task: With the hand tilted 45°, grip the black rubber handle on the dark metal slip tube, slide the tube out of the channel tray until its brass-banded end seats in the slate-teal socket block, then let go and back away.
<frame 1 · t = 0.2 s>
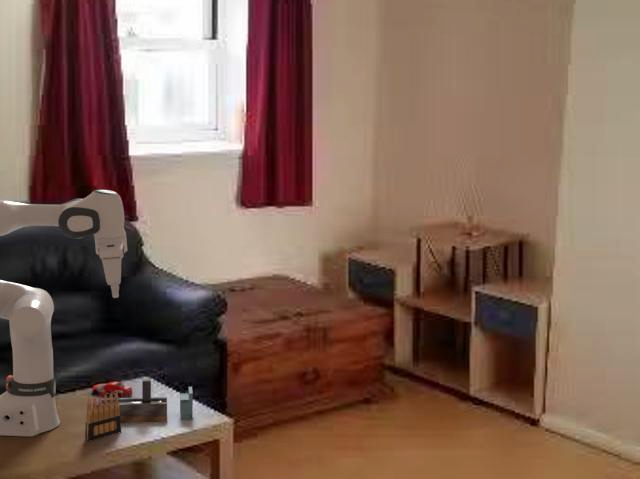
hand: (116, 293, 281), 39 cm above the table, tool pointing down, fingers open, 8 cm apart
slip tube: (134, 395, 292), point 7 cm above the table, slide at 0.0 cm
channel tray: (129, 417, 293), on the table
race car: (111, 395, 312), on the table
socket block: (186, 415, 295), on the table
ammunition clip: (103, 436, 278), on the table
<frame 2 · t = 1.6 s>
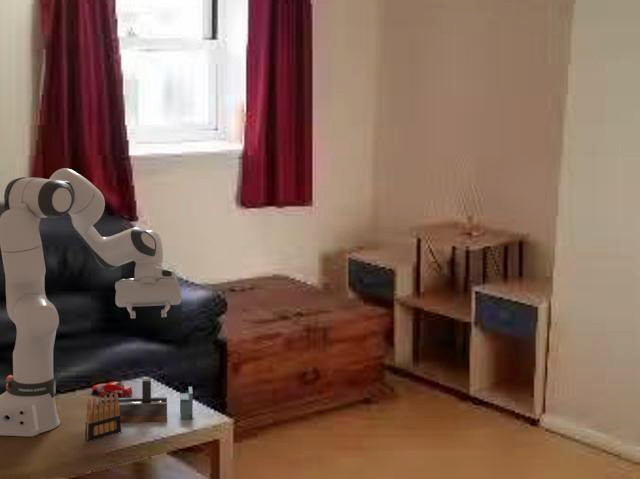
hand: (148, 316, 302), 27 cm above the table, tool tilted 45°, fingers open, 8 cm apart
nothing on the table moved.
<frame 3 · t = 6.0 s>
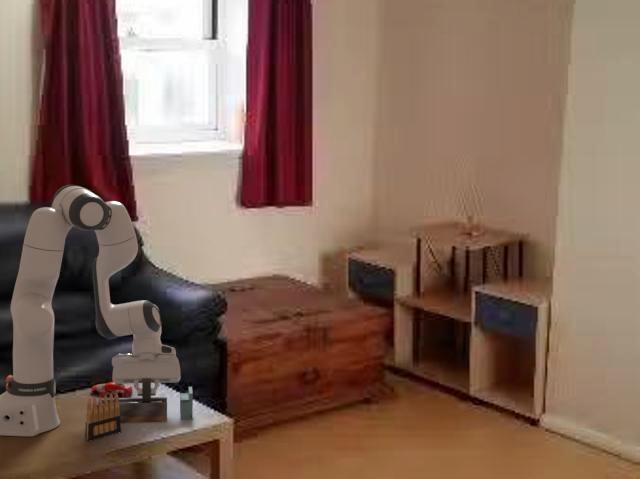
hand: (146, 395, 292), 7 cm above the table, tool tilted 45°, fingers closed on slip tube, 2 cm apart
slip tube: (134, 395, 292), point 7 cm above the table, slide at 0.0 cm, touching gripper
everything else where it was.
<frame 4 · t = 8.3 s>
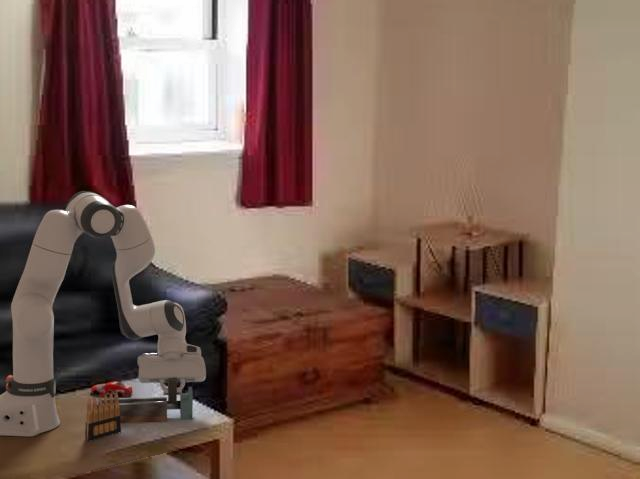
hand: (172, 394, 293), 7 cm above the table, tool tilted 45°, fingers closed on slip tube, 2 cm apart
slip tube: (160, 394, 293), point 7 cm above the table, slide at 7.6 cm, touching gripper
everything else where it was.
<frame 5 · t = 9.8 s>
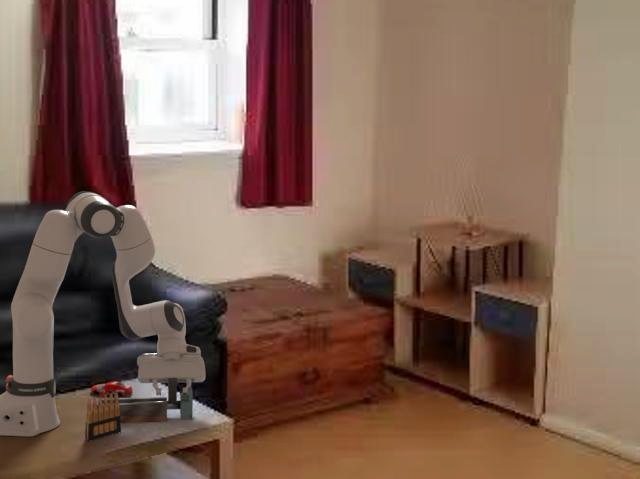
hand: (172, 394, 293), 7 cm above the table, tool tilted 45°, fingers open, 6 cm apart
slip tube: (160, 394, 293), point 7 cm above the table, slide at 7.6 cm
everything else where it was.
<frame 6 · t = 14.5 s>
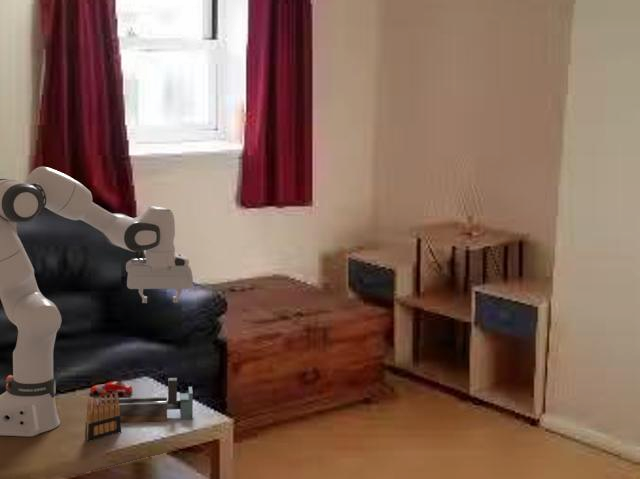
hand: (160, 302, 304), 31 cm above the table, tool pointing down, fingers open, 8 cm apart
nothing on the table moved.
at the end: slip tube slide at 7.6 cm; the gripper is holding nothing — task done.
